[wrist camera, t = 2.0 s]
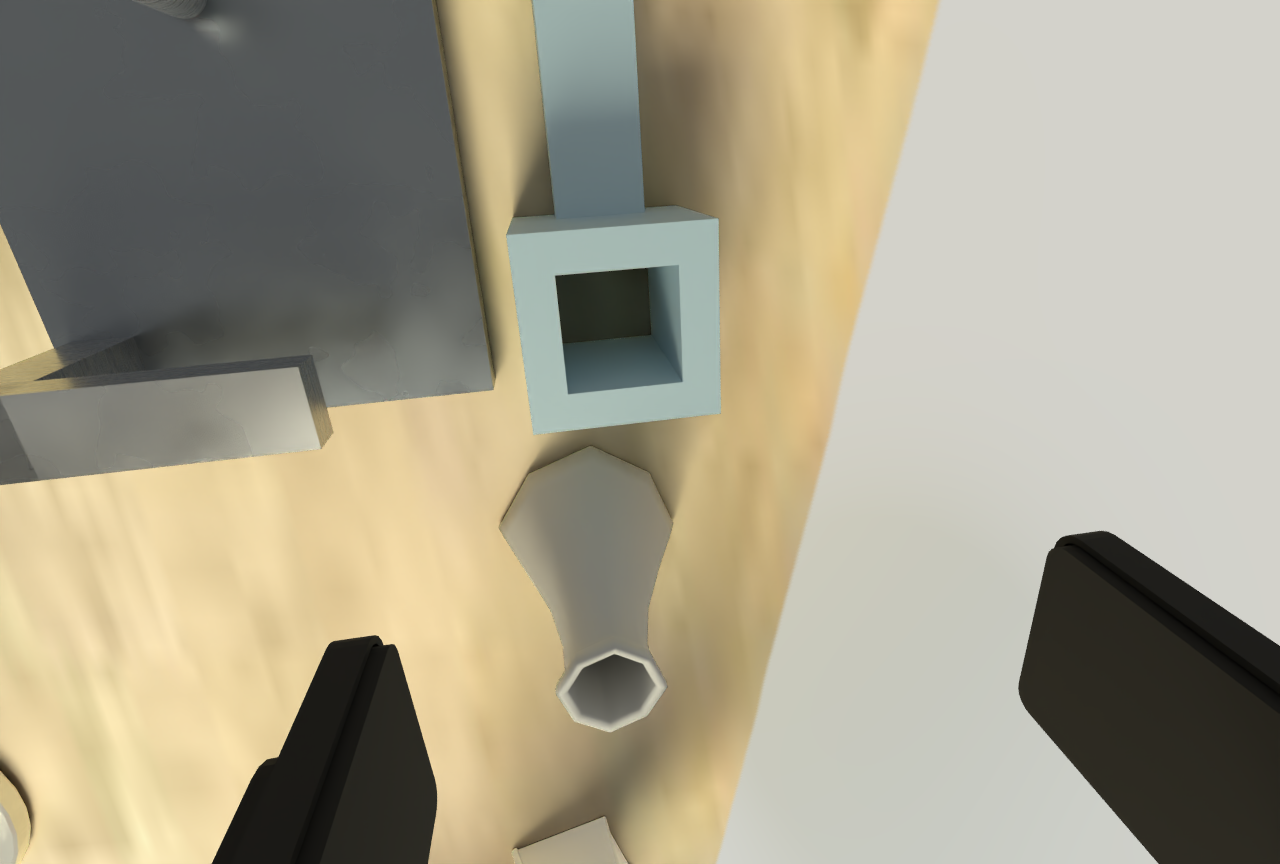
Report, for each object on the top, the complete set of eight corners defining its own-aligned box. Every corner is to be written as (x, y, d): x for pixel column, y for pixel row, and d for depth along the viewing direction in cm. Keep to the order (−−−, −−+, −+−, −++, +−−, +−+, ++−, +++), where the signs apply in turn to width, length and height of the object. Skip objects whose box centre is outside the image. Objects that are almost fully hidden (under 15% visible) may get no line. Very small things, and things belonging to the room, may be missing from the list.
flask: (584, 616, 31) (605, 810, 21) (468, 525, 28) (436, 703, 19) (699, 519, 29) (774, 680, 20) (590, 414, 27) (621, 546, 18)
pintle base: (111, 419, 24) (-50, 518, 17) (-157, -224, 17) (-605, -473, 10) (495, 380, 25) (481, 456, 19) (400, -223, 18) (326, -437, 12)
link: (681, 361, 26) (720, 413, 21) (533, 376, 26) (533, 434, 20) (662, -179, 20) (712, -310, 14) (460, -178, 19) (430, -316, 13)
